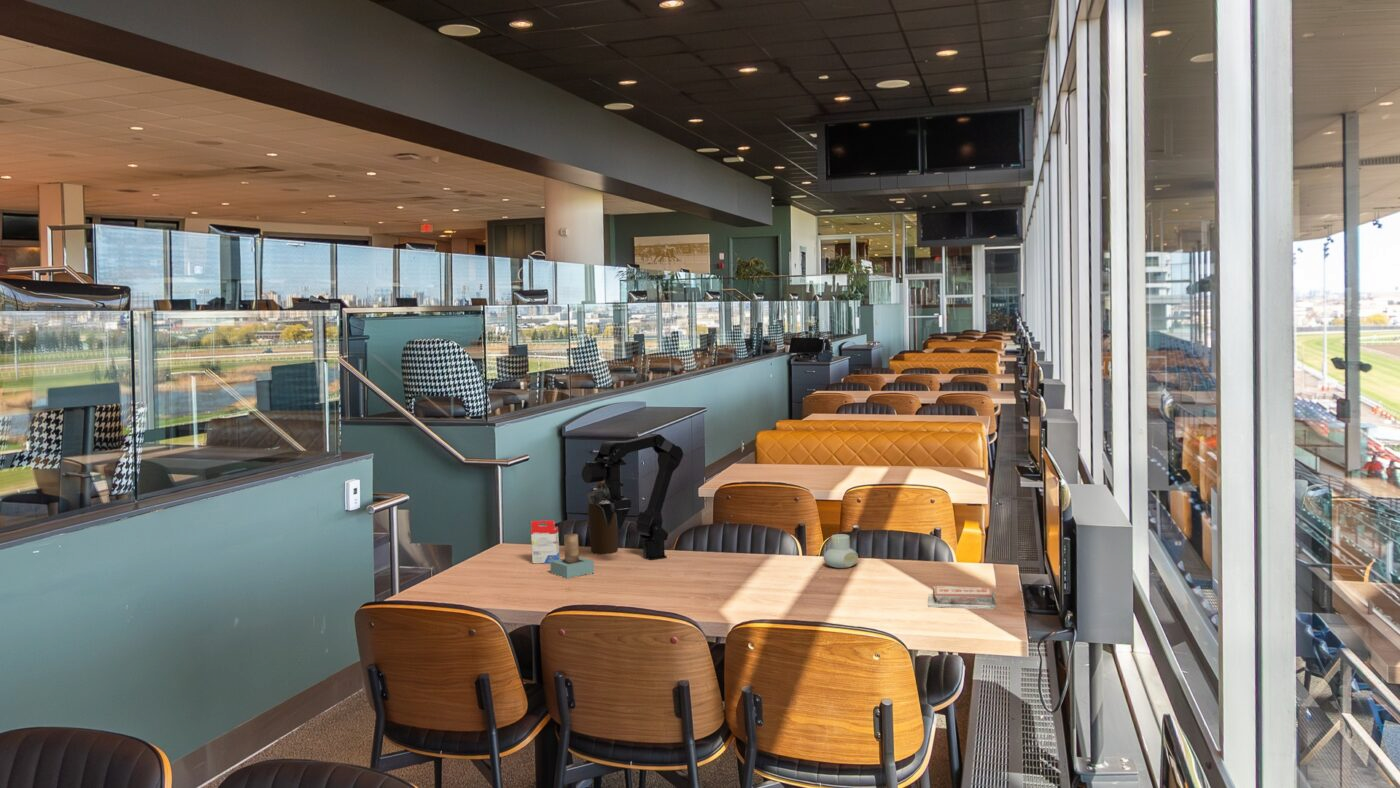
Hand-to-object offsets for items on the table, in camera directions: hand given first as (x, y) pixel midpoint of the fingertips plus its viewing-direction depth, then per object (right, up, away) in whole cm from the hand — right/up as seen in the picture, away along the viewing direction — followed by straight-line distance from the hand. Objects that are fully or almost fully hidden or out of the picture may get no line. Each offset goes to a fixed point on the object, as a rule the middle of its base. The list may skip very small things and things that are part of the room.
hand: (614, 526), depth 351 cm
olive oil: (-5, -12, +24) cm, 27 cm away
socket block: (-13, -14, -9) cm, 21 cm away
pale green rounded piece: (+74, -12, -10) cm, 75 cm away
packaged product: (+100, -15, -58) cm, 117 cm away
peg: (-13, -14, -9) cm, 21 cm away
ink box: (-24, -13, +9) cm, 29 cm away
